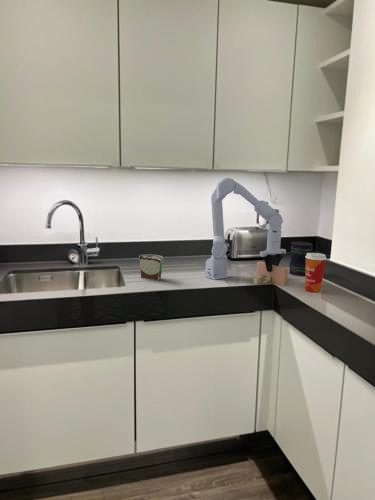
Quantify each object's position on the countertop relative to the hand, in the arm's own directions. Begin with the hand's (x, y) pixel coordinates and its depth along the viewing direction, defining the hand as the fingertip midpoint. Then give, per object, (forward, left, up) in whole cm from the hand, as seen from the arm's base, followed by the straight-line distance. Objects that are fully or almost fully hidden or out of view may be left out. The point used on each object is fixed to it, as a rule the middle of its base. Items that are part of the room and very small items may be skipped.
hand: (271, 271), depth 165 cm
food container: (-43, +29, -5) cm, 52 cm away
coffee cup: (+4, -19, -5) cm, 20 cm away
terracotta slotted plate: (0, 0, -4) cm, 4 cm away
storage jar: (+22, +2, -5) cm, 23 cm away
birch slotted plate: (0, 0, -4) cm, 4 cm away
